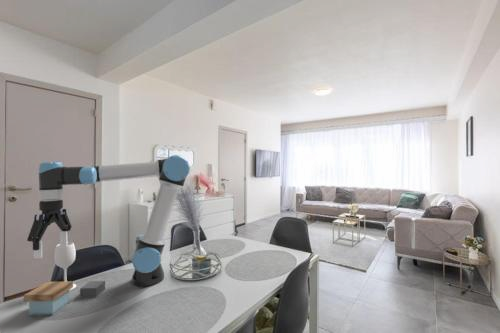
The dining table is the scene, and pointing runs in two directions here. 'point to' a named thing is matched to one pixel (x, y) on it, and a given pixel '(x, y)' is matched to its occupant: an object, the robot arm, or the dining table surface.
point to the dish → (48, 305)
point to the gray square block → (92, 289)
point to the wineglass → (65, 258)
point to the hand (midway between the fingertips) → (51, 251)
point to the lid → (48, 291)
